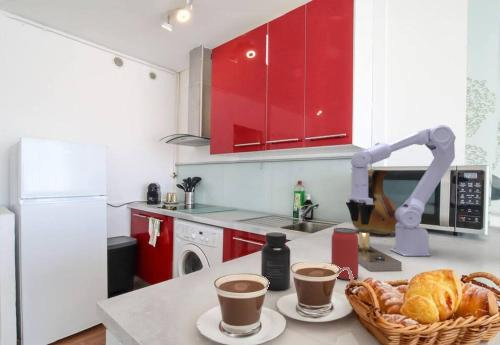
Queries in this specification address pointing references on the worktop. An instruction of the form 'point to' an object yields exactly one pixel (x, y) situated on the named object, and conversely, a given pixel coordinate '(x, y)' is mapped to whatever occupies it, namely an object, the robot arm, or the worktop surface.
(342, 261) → the beer can
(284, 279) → the supplement bottle
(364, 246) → the brass pin
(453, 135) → the robot arm
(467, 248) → the worktop surface
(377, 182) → the ceramic pitcher
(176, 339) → the worktop surface
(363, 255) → the door strike plate
